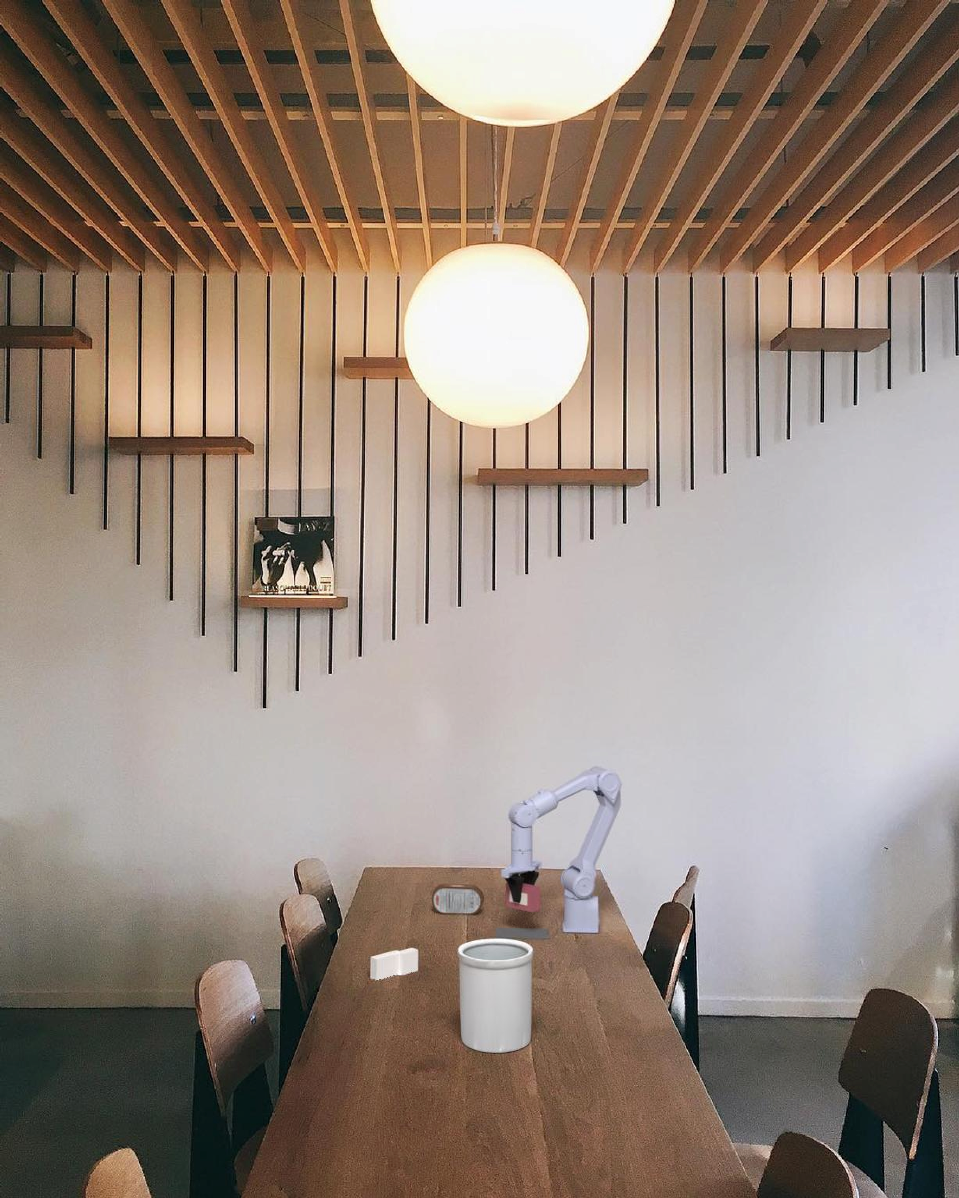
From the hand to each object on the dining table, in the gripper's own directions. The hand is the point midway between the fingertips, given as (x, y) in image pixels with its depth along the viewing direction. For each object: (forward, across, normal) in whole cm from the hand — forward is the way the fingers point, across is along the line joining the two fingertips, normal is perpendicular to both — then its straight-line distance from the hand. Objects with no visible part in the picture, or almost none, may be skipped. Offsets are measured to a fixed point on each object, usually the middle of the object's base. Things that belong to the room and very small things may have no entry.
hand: (521, 900), depth 260 cm
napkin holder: (+10, -44, +1) cm, 45 cm away
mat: (+9, 0, 0) cm, 9 cm away
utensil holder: (+9, -56, -40) cm, 70 cm away
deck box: (+2, 0, 0) cm, 2 cm away
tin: (+9, +2, +26) cm, 28 cm away
